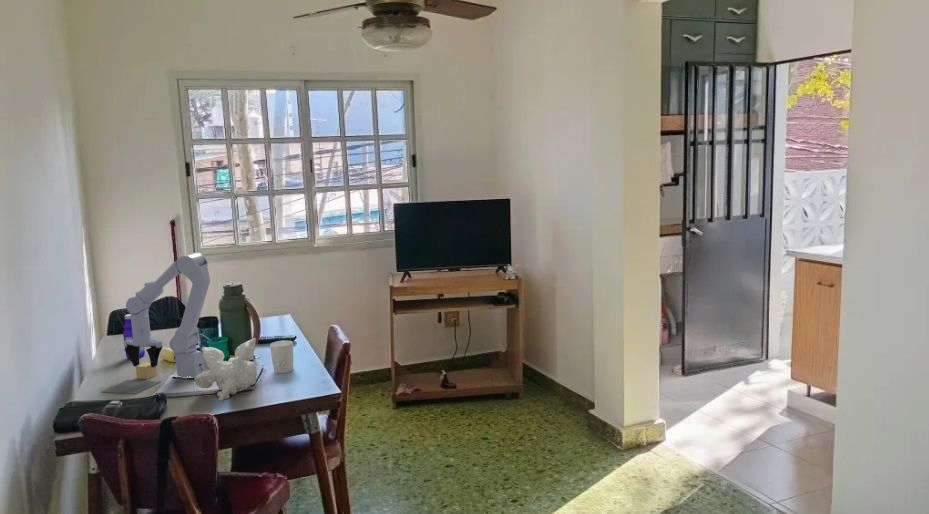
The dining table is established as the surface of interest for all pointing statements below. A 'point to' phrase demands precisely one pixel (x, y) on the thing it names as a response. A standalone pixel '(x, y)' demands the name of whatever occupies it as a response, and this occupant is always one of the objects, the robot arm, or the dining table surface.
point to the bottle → (130, 334)
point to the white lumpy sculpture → (229, 370)
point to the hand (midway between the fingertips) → (145, 366)
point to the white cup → (282, 356)
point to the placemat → (131, 386)
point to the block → (145, 371)
